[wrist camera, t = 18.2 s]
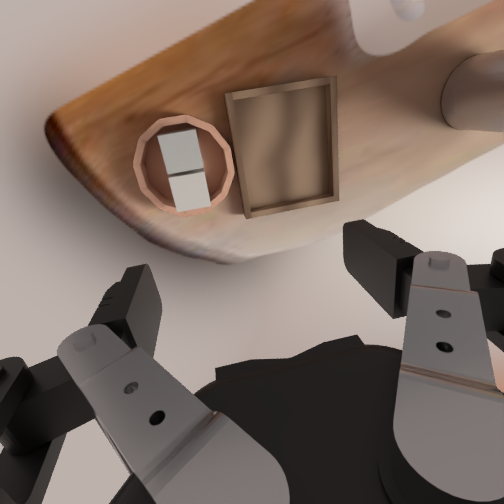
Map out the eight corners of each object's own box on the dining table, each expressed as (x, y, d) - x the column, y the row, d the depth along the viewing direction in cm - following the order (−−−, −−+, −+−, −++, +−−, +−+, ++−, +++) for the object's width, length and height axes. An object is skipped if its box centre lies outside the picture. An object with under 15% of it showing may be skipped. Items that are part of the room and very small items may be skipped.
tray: (330, 77, 38) (336, 75, 36) (333, 197, 45) (339, 200, 43) (223, 94, 37) (225, 93, 35) (244, 215, 43) (246, 219, 42)
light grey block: (195, 127, 37) (195, 129, 32) (202, 160, 39) (203, 167, 33) (162, 132, 37) (157, 136, 31) (171, 166, 38) (167, 174, 33)
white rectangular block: (203, 163, 39) (204, 171, 34) (209, 193, 41) (211, 206, 35) (172, 169, 39) (168, 178, 33) (179, 199, 40) (177, 212, 35)
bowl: (221, 108, 37) (223, 108, 34) (237, 199, 42) (240, 205, 39) (126, 124, 36) (120, 125, 33) (154, 215, 41) (151, 223, 38)
